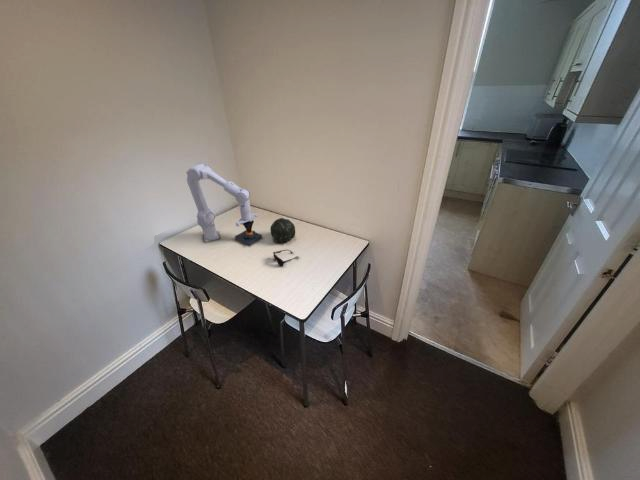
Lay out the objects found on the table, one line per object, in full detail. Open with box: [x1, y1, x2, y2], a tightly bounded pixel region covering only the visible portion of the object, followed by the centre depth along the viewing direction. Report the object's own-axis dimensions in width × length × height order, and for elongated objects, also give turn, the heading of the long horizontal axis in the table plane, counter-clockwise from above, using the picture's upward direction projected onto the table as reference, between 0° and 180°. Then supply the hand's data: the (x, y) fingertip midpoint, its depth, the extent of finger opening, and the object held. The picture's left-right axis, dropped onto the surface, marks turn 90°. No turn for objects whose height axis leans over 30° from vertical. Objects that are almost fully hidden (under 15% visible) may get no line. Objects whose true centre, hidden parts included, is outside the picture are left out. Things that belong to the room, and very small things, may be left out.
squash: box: [269, 217, 296, 243], centre depth 150 cm, size 14×15×15 cm
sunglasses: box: [272, 249, 299, 267], centre depth 135 cm, size 11×12×5 cm
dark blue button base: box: [234, 229, 263, 247], centre depth 152 cm, size 12×10×4 cm
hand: (249, 231), depth 149 cm, fingers closed, pressing on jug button
